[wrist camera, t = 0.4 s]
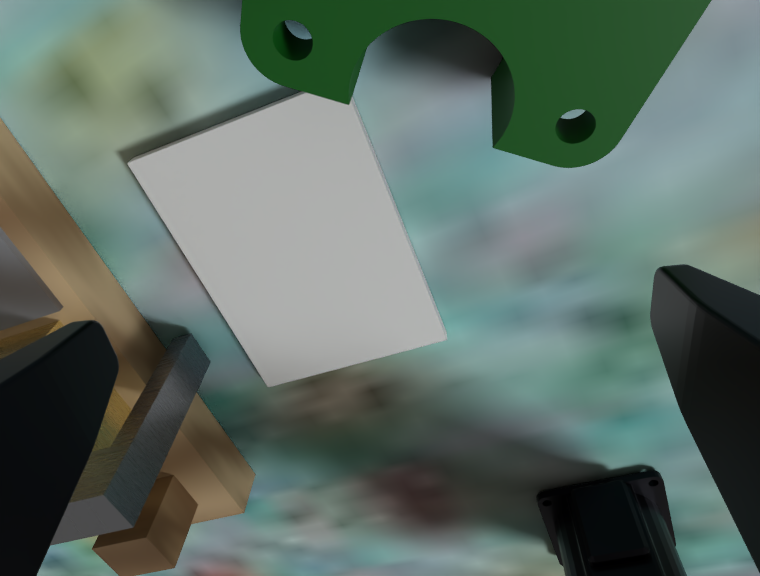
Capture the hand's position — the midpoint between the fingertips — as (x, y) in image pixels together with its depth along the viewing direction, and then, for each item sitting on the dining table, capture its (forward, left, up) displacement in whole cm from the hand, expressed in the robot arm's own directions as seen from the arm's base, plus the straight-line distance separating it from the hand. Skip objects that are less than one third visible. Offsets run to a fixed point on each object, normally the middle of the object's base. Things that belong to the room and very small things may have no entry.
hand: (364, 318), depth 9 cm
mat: (-5, +6, -14) cm, 16 cm away
